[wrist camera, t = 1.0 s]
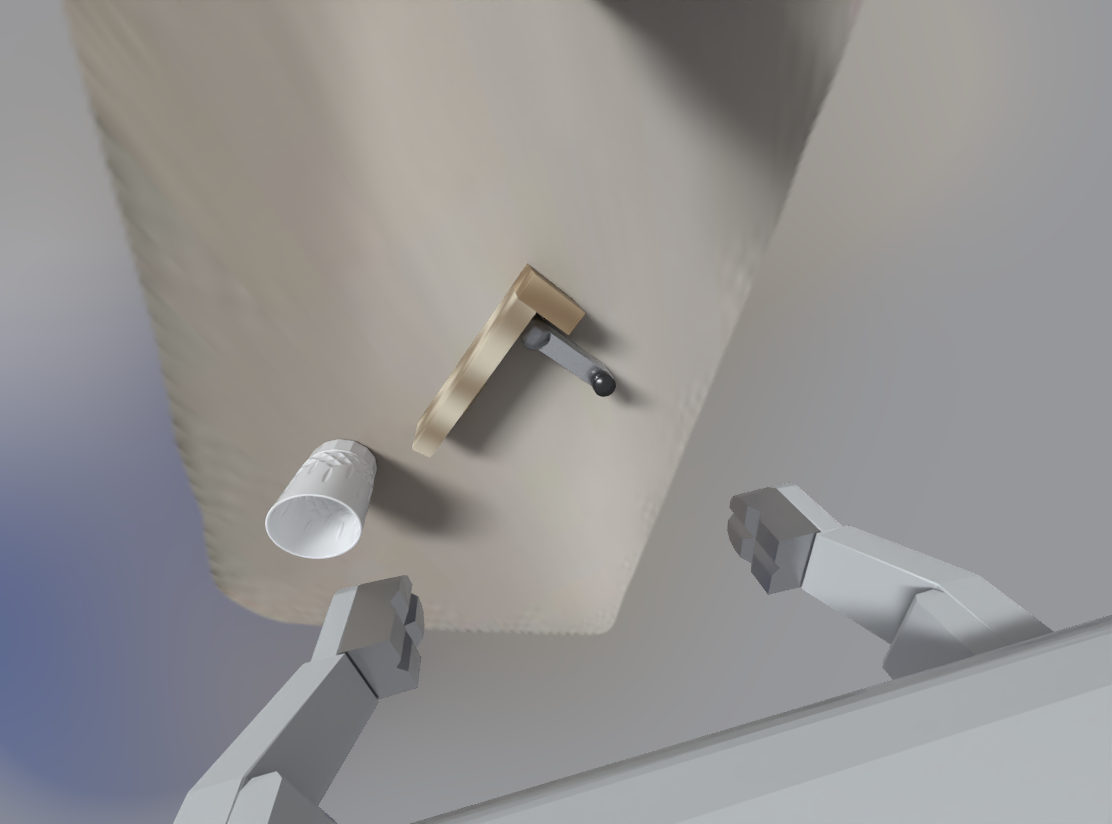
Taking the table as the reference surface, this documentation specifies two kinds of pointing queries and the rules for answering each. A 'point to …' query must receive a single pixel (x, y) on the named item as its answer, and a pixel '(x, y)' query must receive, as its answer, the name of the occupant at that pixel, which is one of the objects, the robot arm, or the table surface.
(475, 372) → the wooden l-bracket
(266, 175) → the table surface
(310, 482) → the white cup
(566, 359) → the crank handle
